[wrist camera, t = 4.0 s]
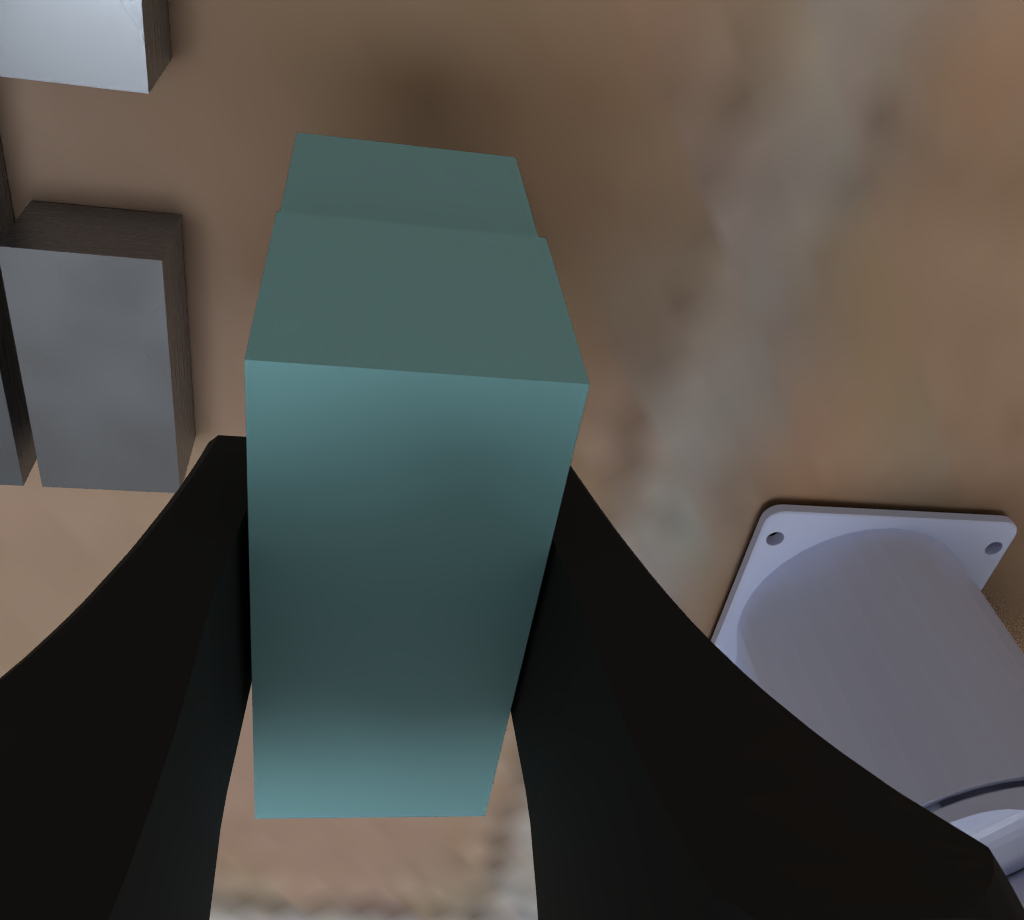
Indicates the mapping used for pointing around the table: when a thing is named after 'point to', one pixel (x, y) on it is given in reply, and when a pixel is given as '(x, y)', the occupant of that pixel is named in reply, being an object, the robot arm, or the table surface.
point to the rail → (92, 282)
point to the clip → (399, 475)
